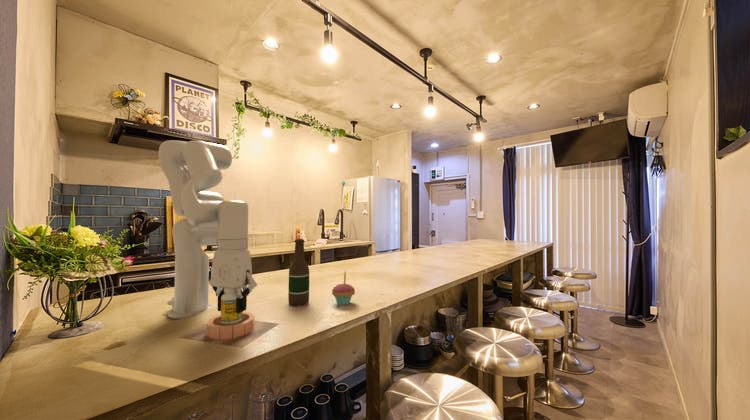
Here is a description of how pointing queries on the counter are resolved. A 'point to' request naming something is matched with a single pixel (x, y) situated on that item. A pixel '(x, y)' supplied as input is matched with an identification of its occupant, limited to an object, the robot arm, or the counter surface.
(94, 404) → the counter surface
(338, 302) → the cupcake
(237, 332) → the terracotta holder
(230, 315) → the supplement bottle
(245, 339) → the grey flat pad
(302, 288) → the beer bottle
